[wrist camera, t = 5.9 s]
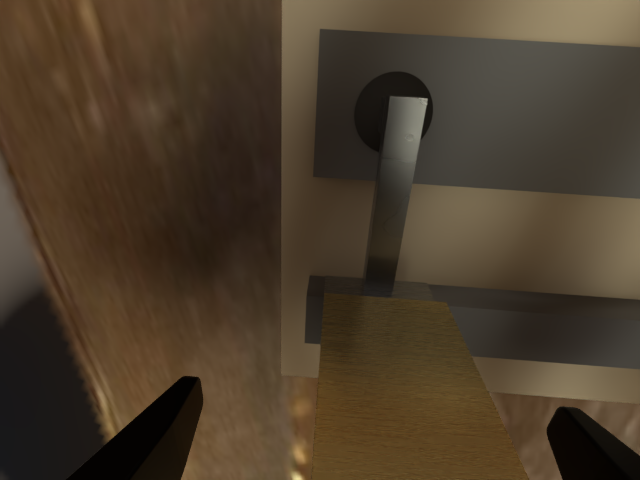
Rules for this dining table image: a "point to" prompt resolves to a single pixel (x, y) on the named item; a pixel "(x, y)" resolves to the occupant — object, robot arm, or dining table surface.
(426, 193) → the board with grey bars
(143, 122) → the dining table surface
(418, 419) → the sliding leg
